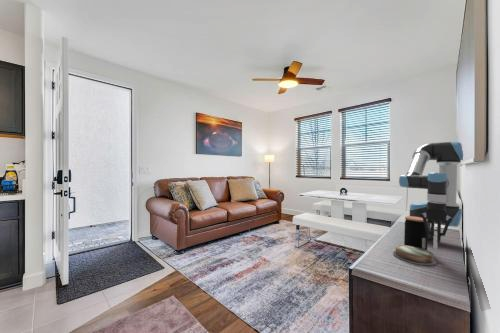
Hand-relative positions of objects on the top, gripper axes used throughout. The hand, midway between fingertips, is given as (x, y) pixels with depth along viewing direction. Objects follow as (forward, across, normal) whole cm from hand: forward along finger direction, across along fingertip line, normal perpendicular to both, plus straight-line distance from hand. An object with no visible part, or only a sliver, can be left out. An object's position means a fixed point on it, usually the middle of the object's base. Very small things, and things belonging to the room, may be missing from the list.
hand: (435, 247), depth 113 cm
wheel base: (+6, +8, +6) cm, 12 cm away
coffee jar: (+6, +10, -10) cm, 15 cm away
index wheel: (+6, +8, +6) cm, 12 cm away
